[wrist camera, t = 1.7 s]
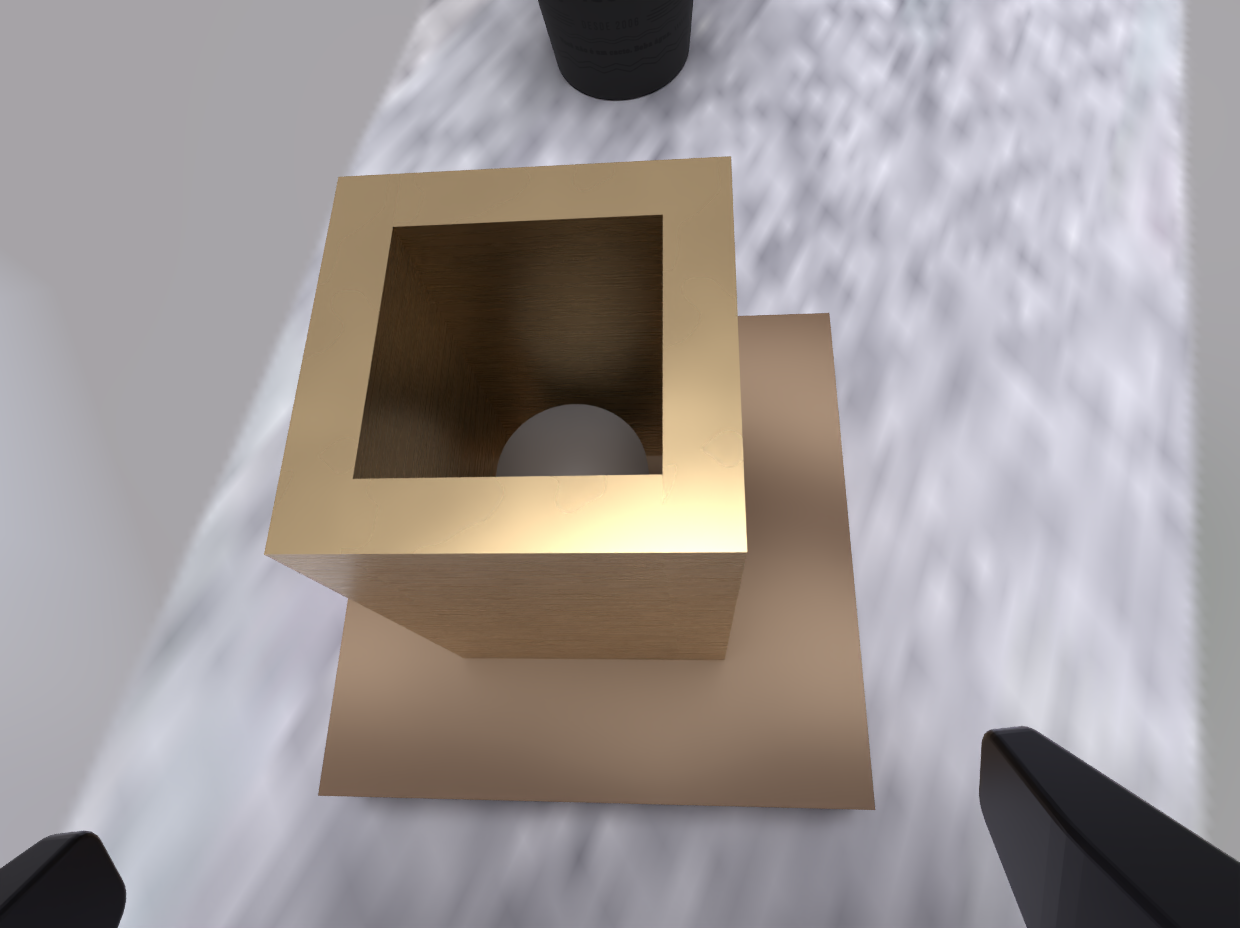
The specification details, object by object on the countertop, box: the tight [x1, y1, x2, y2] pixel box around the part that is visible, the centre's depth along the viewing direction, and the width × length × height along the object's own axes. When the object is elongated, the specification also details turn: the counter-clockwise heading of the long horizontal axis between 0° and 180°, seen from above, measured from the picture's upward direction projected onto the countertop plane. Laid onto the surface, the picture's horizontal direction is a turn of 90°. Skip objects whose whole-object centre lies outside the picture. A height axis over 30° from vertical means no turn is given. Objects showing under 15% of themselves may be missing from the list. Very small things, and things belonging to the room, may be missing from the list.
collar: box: [264, 156, 747, 660], centre depth 15 cm, size 6×6×9 cm
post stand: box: [318, 313, 875, 810], centre depth 18 cm, size 12×12×6 cm
